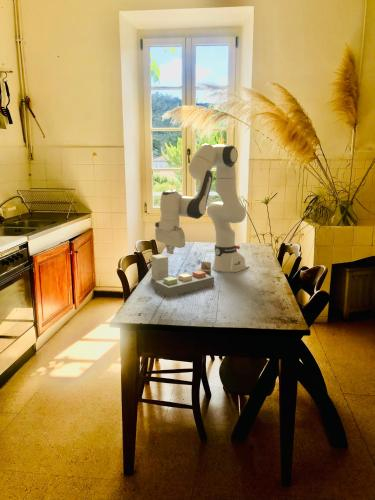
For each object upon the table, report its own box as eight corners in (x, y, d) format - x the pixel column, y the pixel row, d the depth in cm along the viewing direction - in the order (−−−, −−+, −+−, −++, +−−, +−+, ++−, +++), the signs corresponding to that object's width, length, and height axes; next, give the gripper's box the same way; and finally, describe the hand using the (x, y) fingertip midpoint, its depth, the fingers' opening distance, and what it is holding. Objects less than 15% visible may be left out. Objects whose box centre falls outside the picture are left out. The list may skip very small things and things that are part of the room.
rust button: (199, 277, 205) (199, 270, 204) (205, 280, 202) (205, 272, 201) (192, 279, 202) (192, 271, 201) (198, 281, 199) (198, 274, 198)
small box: (168, 280, 208) (168, 257, 205) (157, 282, 205) (157, 258, 202) (162, 276, 215) (161, 253, 212) (151, 278, 212) (150, 255, 209)
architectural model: (209, 276, 217) (210, 263, 215) (197, 275, 218) (197, 263, 217) (211, 275, 220) (211, 262, 218) (199, 274, 222) (199, 261, 220)
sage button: (171, 284, 195) (171, 276, 194) (177, 286, 191) (177, 278, 190) (163, 286, 192) (163, 278, 191) (169, 288, 188) (169, 280, 187)
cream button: (186, 280, 200) (186, 273, 199) (191, 283, 196) (191, 275, 195) (178, 282, 197) (178, 275, 196) (184, 285, 193) (184, 277, 192)
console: (199, 279, 210) (199, 271, 209) (213, 285, 201) (214, 277, 200) (155, 290, 194) (155, 281, 193) (168, 296, 184) (168, 287, 183)
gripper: (188, 227, 178) (188, 256, 181) (163, 221, 194) (163, 248, 197) (177, 228, 174) (177, 258, 178) (152, 222, 190) (153, 250, 193)
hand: (170, 253), depth 188 cm, fingers closed
